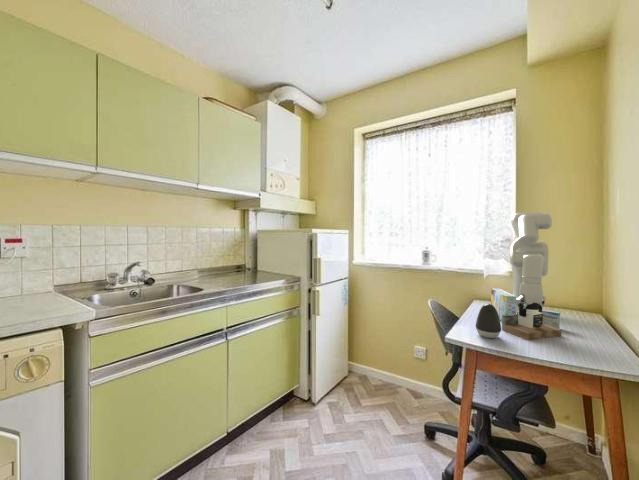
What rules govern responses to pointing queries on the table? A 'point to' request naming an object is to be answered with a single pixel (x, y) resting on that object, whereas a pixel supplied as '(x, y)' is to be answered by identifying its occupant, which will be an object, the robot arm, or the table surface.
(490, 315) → the dark egg-shaped spouted container
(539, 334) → the brown piece
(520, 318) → the medicine bottle
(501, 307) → the snack box
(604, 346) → the table surface
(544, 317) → the medicine box
